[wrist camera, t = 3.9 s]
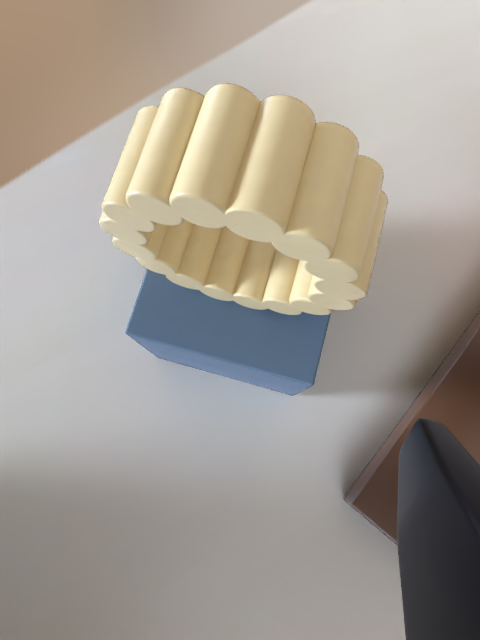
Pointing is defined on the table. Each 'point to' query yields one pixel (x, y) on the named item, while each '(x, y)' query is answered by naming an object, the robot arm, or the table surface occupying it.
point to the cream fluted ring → (248, 201)
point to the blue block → (227, 336)
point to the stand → (432, 403)
